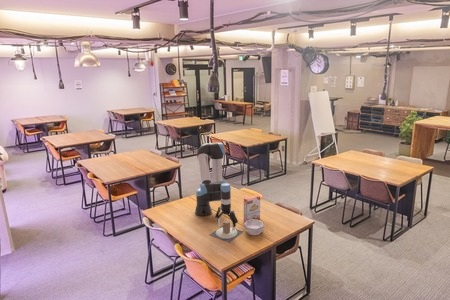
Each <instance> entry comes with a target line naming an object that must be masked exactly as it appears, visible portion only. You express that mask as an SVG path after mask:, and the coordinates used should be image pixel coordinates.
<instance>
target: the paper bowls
mask: <svg viewBox="0 0 450 300" xmlns="http://www.w3.org/2000/svg"><path fill="white" fill-rule="evenodd" d="M264 228H265V224H264V222H263V221H261V220H260V219H257V220H256V219H251V220H248V221H244V232H246V233H247V234H248V235H250V236H258V235H260V234H261V233H263V231H264V230H265V229H264Z"/></svg>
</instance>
